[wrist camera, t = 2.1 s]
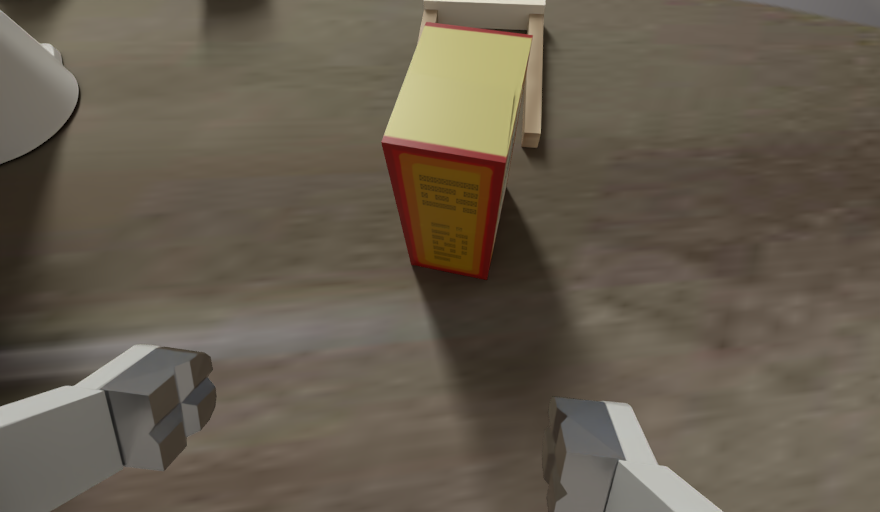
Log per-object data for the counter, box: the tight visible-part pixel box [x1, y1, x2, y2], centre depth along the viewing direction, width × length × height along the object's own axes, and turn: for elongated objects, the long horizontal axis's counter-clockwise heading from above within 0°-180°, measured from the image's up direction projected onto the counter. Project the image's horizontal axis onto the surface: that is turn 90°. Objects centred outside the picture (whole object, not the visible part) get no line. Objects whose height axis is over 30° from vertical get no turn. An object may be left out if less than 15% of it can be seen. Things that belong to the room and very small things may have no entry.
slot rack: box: [417, 0, 545, 148], centre depth 44 cm, size 13×18×3 cm
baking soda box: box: [381, 22, 533, 280], centre depth 31 cm, size 10×6×16 cm
